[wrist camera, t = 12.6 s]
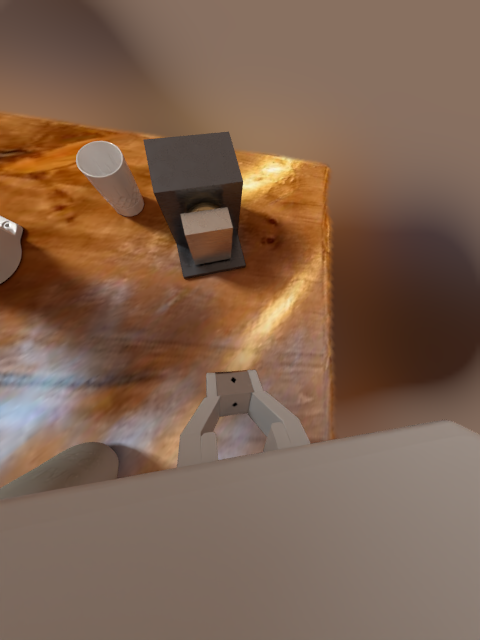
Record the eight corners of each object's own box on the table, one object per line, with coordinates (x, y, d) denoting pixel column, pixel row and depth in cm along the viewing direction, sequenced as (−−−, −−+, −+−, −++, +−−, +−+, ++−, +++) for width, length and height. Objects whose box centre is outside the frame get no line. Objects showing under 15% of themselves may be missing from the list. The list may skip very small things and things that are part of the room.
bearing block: (245, 267, 41) (255, 225, 27) (184, 278, 39) (162, 240, 26) (226, 197, 44) (227, 127, 30) (169, 205, 42) (142, 134, 28)
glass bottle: (134, 434, 33) (-294, 826, 6) (119, 497, 31) (-617, 1517, 4) (79, 427, 33) (-675, 825, 5) (61, 491, 31) (-1267, 1630, 3)
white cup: (118, 223, 40) (84, 182, 31) (106, 196, 41) (69, 147, 32) (152, 212, 42) (129, 169, 32) (139, 185, 43) (114, 136, 33)
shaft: (230, 258, 40) (232, 227, 30) (195, 264, 39) (184, 235, 29) (210, 175, 43) (205, 123, 33) (176, 180, 42) (161, 127, 32)
